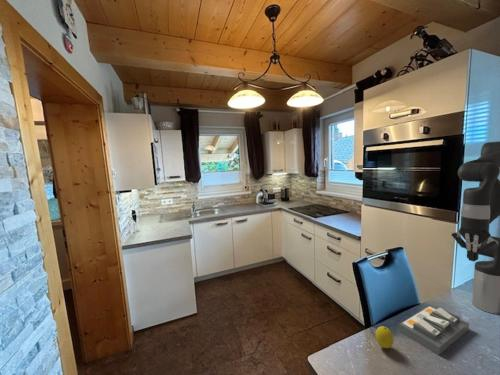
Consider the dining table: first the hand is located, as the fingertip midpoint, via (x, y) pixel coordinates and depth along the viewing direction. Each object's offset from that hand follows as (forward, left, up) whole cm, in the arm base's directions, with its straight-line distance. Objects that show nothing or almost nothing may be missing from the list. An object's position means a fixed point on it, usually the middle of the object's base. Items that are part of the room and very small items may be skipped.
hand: (472, 260), depth 83 cm
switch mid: (+11, -6, -24) cm, 27 cm away
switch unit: (+11, -6, -29) cm, 32 cm away
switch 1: (+18, -6, -24) cm, 31 cm away
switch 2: (+4, -6, -24) cm, 25 cm away
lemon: (+36, -11, -29) cm, 48 cm away
